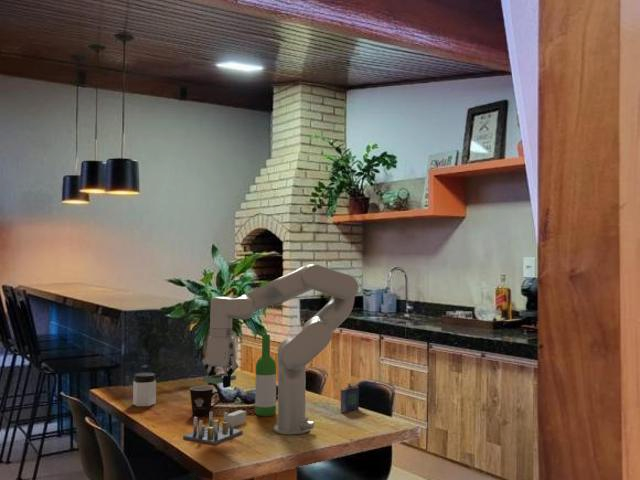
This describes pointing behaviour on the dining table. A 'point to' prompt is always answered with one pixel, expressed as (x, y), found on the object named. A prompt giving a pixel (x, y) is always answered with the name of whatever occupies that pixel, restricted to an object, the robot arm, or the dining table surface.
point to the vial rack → (213, 431)
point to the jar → (144, 389)
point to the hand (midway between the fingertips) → (219, 385)
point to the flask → (349, 399)
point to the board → (217, 378)
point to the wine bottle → (265, 381)
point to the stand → (237, 418)
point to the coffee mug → (202, 400)
